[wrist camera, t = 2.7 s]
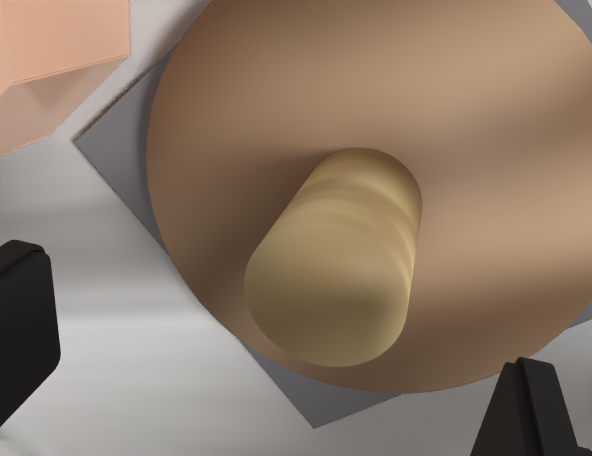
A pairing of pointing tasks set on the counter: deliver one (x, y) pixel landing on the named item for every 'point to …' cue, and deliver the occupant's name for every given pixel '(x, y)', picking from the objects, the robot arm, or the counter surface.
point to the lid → (380, 182)
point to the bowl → (54, 61)
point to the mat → (135, 193)
